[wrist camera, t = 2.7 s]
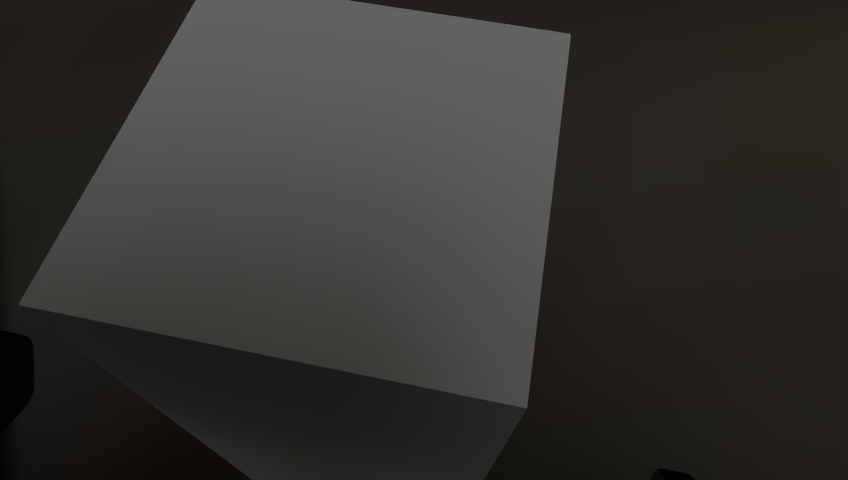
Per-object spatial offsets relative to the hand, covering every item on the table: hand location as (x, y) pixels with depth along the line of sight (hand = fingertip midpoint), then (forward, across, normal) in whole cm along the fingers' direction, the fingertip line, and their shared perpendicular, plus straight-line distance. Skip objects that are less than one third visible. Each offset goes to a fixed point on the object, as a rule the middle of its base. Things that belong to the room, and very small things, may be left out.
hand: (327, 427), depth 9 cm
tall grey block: (+8, 0, +5) cm, 9 cm away
